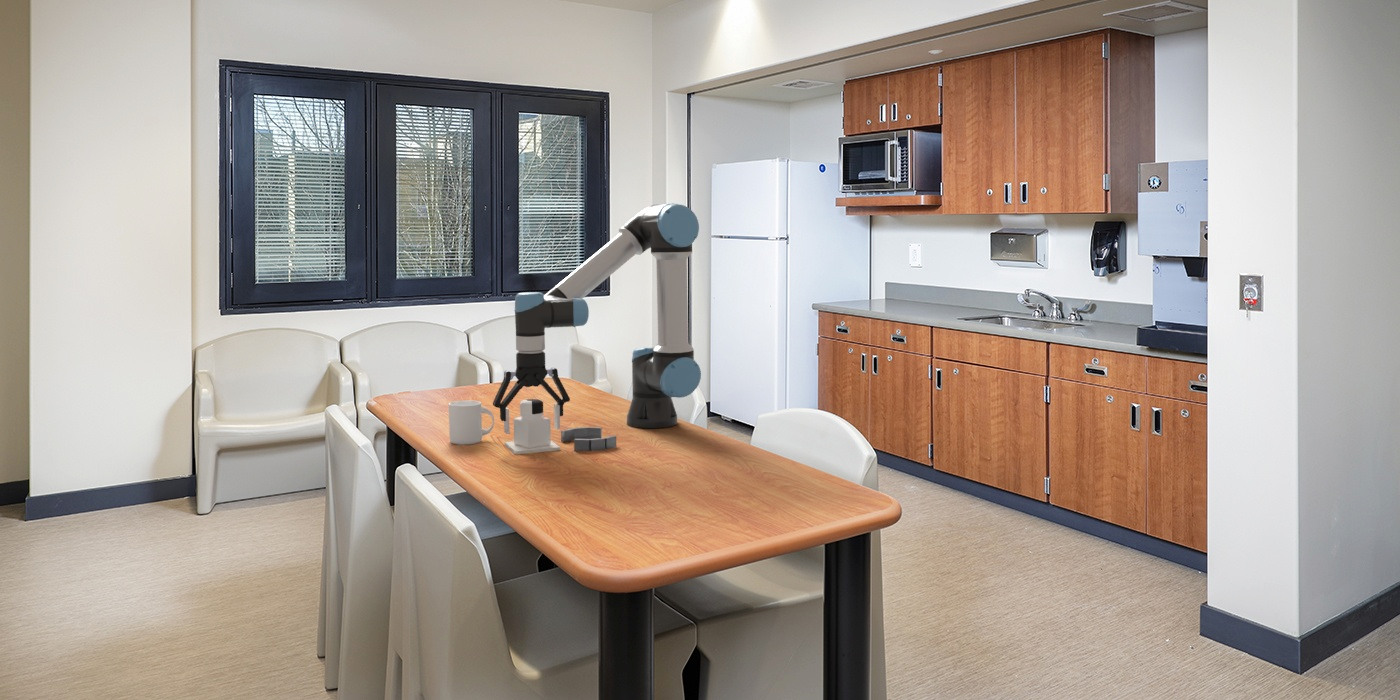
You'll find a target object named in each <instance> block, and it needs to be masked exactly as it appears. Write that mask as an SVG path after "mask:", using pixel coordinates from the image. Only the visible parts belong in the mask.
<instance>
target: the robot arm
mask: <svg viewBox="0 0 1400 700" xmlns="http://www.w3.org/2000/svg"><path fill="white" fill-rule="evenodd" d="M699 225H700V224H699V220H698V217H697V216H696V213H695V212H694V211H693V210H692V209H691V208H689V207H688V206H686V205H684V204H680V203H666V204H652V205H649V206H647V207H645V208H642V210H641V211H639V212H638V213H636V214H635V215H634V216H632V217H631V218H630V219H629V220H628V221H627V222H626V223H624V224H623V225H622V226H621V227H620V228H619V229H618V233H617V235H616V236H614V237H613V238H612V239H611V240H610V241H608V242H607V243H606V244H605V245H603V246H602V247H601V248H600V249H599V250H597V251H596V252H595V253H594V254H592V255H591V256H590V257H589V258H588V259H586V260H585V261H584V262H583V263H582V264H581V265H579V266H578V267H577V268H576V269H574V271H572V272H571V273H569V275H568V276H566V277H565V278H564V279H562V280H561V281H560V282H559V283H558V284H556V285H555V286H554V287H553V288H551V289H550V290H549V291H547V292H546V293H543V292H539V291H538V292H537V291H535V292H534V291H533V292H531V291H529V292H528V291H527V292H526V291H525V292H519V293H517V294H516V295H515V297H514V298H515V299H514V320H515V322H514V324H515V350H516V351H517V352H516V353H515V358H516V359H515V360H516V361H515V364H516V369H515V371H511V370H510V371H509V370H504V372H503V380H502V382H501V384H500V386H499V388H498V390H497V393H496V395H495V396H494V399H493V401H492V405H493V406H494V407H495V408H498V409H499V419H500V420H501V422H504V423H503V424H504V425H503V426H504V427H503V432H504V433H505V435H510V434H511V433H510V429H511V428H510V408H508V406H509V405H510V403H511V402H512V401H513V400H514V398H515V397H516V396H517V394H518V393H519V392H520V391H521V390H522V389H523V387H526V388H530V387H539V386H541V387H542V388H543V389H544V390H545V391H546V392H547V393H548V394H549V395H550V396H551V398H552V399H553V400H555V403H554V404H553V408H554V409H553V410H554V411H553V413H554V423H553V424H554V428H555V429H556V430H560V429H561V417H563V416H564V405H565V404H566V403H569V402H570V401H571V398H570V396H569V393H568V392H567V390H566V389H565V386H564V384H563V383H562V381H561V379H560V378H559V377H560V376H559V373H558V369H557V368H555V367H551V368H546V352H544V351H545V349H546V338H545V335H546V333H545V330H546V329H550V328H569V327H570V328H571V327H572V328H573V327H574V328H576V327H583V326H585V325H586V324H587V323H588V320H589V314H590V312H589V306H588V302H587V301H586V300H585V298H586V296H587V295H589V294H590V293H591V292H592V291H593V290H595V289H596V288H597V287H599V285H601V284H602V283H603V282H604V281H606V279H609V277H610V276H612V275H613V274H615V272H616V271H618V269H620V268H621V267H622V266H623V265H625V264H626V263H627V262H628V261H629V260H631V259H632V258H633V257H634V256H635V255H639V256H641V255H642V254H643V253H645V252H646V251H647V250H649V249H650V254H651V255H652V256H653V257H654V258H655V259H656V296H657V297H656V298H657V299H656V303H657V306H656V307H657V310H656V311H657V344H656V345H655V346H654V347H653V346H652V347H642V348H641V347H639V348H635V349H634V350H633V351H632V356H631V357H632V358H631V364H632V365H631V367H632V368H631V369H632V372H631V373H632V374H631V375H632V379H631V380H632V381H631V382H632V383H631V384H632V397H631V398H632V399H631V402H630V406H629V409H628V412H627V414H626V424H627V425H628V426H629V427H633V428H634V427H635V428H640V429H642V428H643V429H662V428H669V427H673V426H677V424H678V414H677V412H676V408H675V405H674V401H673V398H677V399H679V398H685V397H688V396H690V395H691V394H693V392H695V390H696V389H698V386H699V384H700V381H701V379H702V377H701V376H702V371H701V368H700V365H699V364H698V363H697V362H696V360H695V354H694V353H695V351H694V350H695V349H694V348H693V346H691V344H690V343H689V320H688V319H689V317H688V316H689V313H688V312H689V310H688V303H689V302H688V258H689V257H690V256H691V255H692V254H693V243H694V242H695V241H696V240H697V238H698V235H699V232H700V226H699ZM547 375H548V376H549V377H551V378H552V380H553V382H554V384H555V386H556V388H557V391H559V394H560V396H561V397H560V396H559V394H558V393H557V392H556V391H555V390H554V389H553V388H552V387H551V386H550V385H549V384H548V382H547V381H546V380H545V379H546V378H547ZM514 377H515V378H516V379H517V380H516V382H515V383H514V386H512V388H511V389H510V391H509V392H508V393H507V394H506V396H505V393H506V392H507V389H508V387H509V385H510V382H511V381H512V380H513V379H514ZM504 396H505V397H504Z"/></svg>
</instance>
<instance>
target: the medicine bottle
mask: <svg viewBox="0 0 1400 700" xmlns="http://www.w3.org/2000/svg"><path fill="white" fill-rule="evenodd" d="M519 414H520V415H519V416H518V417H513V441H514V444H516V445H519V446H522V447H525V448H534V447H540V446H545V445H550V444H551V441H552V440H551V439H552V438H551V437H552V434H551V418H549V417H544V401H542V400H541V399H538V398H537V399H536V398H527V399H523V400H521V401H520V403H519Z"/></svg>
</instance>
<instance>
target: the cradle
mask: <svg viewBox="0 0 1400 700" xmlns="http://www.w3.org/2000/svg"><path fill="white" fill-rule="evenodd" d="M602 430H603V429H602V426H582V427H572V428H566V429H563V430H562V429H561V430H560V441H561V442H562V443H567V442H570V441H573V447H574V449H573V451H574V452H594V451H595V452H596V451H598V452H599V451H606V450H611V449H613V448H617V435H609V436H605V437H603V436H602V435H603V434H602Z"/></svg>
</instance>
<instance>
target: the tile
mask: <svg viewBox="0 0 1400 700" xmlns="http://www.w3.org/2000/svg"><path fill="white" fill-rule="evenodd" d="M503 445H504V446H505V447H506V448H507V449H508V450H509V451H511V452H512V453H513V454H514V455H523V454H535V453H543V452H544V453H545V452H555V451H557V452H558V451H561V446H559V445H558V444H556V443H555V442H554V441H553V440H551V444H550V445H545V446H540V447H534V448H525V447H522V446H519V445H516V444H514V440H511V441H504V444H503Z"/></svg>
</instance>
